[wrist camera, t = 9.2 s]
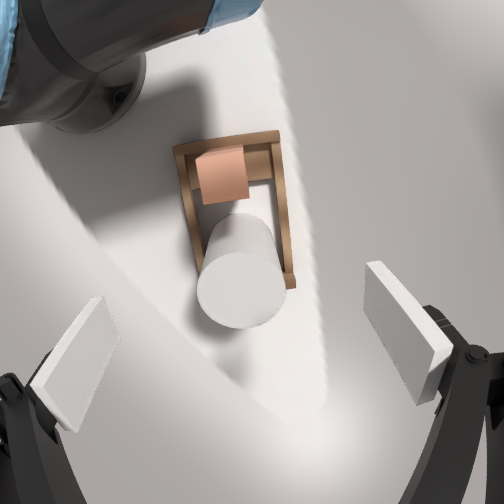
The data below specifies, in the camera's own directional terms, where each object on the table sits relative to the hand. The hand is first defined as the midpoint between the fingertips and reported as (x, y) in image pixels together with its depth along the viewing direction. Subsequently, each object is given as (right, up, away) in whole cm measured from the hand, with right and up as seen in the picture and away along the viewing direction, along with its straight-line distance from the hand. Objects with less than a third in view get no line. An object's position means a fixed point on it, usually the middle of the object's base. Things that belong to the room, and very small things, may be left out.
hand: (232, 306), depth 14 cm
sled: (-1, +7, +23) cm, 24 cm away
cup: (0, +4, +25) cm, 25 cm away
